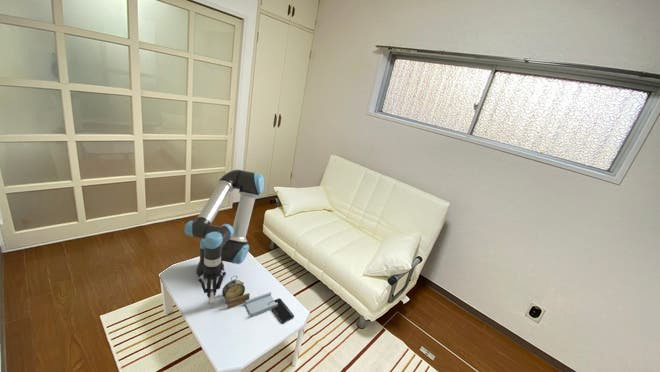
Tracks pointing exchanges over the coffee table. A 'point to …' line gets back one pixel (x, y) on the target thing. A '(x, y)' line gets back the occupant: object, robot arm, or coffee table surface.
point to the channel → (238, 300)
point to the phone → (282, 311)
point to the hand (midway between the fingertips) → (211, 300)
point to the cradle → (260, 304)
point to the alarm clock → (233, 289)
